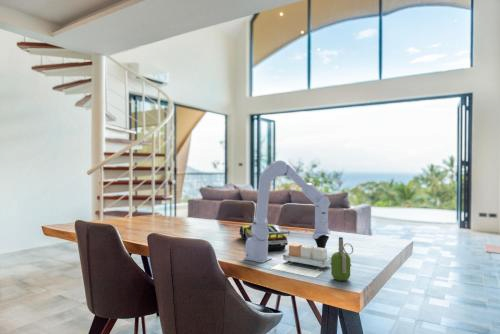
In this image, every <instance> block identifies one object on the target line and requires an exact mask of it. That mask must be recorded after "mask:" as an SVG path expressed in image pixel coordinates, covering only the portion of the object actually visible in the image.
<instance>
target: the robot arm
mask: <svg viewBox="0 0 500 334" xmlns="http://www.w3.org/2000/svg"><path fill="white" fill-rule="evenodd" d="M280 176H283V177H287V178H289V179H290V180H291V181H293V182H294V183H295V184H296V185H298V186H299V187H300V188H301V191H302V193H301V194H303V195H305V196H306V197H307V198H308V199H309V200H310V201H311V202H312V203H313V206H314V232H313V233H312V239H314V241H315V243H316V246H317V247H320V248H326V247H327V246H326V245H327V242H328V240H329V239H330V236H329V235H331V232H330V229H329V207H330V205H331V201H330V198H329V197H328V196H327V195H324V194H323V191H321V190H319V189H318V188H317V187H316V186H317V185H316V184H314V183H312V182H307V181H306V180H305V179H303V178H302V176H300V175H299V174H298V172H296V170H294V169H293V167H292V166H291V165H289V164H287V163H286V162H285V161H284V160H274V161H272V162H270V163H267V165H266V167H265V169H264V170H263V171H261V173H260V175H259V179H258V190H257V198H256V199H257V200H256V208H255V209H256V211H255V217H254V219H253V223H252V224H251V225H252V226H251V225H250V226H251V232H252V234H253V236H252V237H251V238H248V239H247V241H246V240H245V249H244V252H245V256H244V258H243V259H244V260H245V261H246V260H247V261H252V262H256V263H261V264H263V263H264V262H267V261H270V260H273V259H272V257H270V256H269V250H268V238H267V237H268V235H269V230H268V227H267V225H268V224H269V223H268V211H269V209H268V208H269V200H270V189H271V182H272V181H273V180H275V179H276V178H277V177H280ZM317 247H316V248H317Z"/></svg>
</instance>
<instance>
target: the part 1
mask: <svg viewBox="0 0 500 334" xmlns="http://www.w3.org/2000/svg"><path fill="white" fill-rule="evenodd" d="M314 248H315V246H313V245H305V244H304V245H302V247H301V258H307V259H313V249H314Z"/></svg>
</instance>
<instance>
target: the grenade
mask: <svg viewBox="0 0 500 334" xmlns="http://www.w3.org/2000/svg"><path fill="white" fill-rule="evenodd" d="M346 245H349V246H350V247H351V252H350V253H348V252H347V251H346V249H345V246H346ZM353 253H354V247H353V246H352V244H351V243H349V242H347V243H344V237H342V236H339V237H338V251H337V252H336V251H335V252H334V253H333V254H332V255H331V257H330V258H331V263H330V264H329V265H331V266H330V267H331V268H330V270H331V271H330V273H331V277H332V278H333V279H335V280H336V281H339V282H345V281H347V280H349V279H350V277H351V267H352V263H351V258H350V255H352V254H353Z"/></svg>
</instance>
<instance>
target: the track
mask: <svg viewBox="0 0 500 334" xmlns="http://www.w3.org/2000/svg"><path fill="white" fill-rule="evenodd" d="M293 263H294V262H293V261H291V263H288V262H287V264H286V263H278V264H276V265H274V266H272V267H270V270H275V271H281V272H286V273H290V274H295V275H298V276H299V275H301V276H304V277H308V278H309V277H310V278H314V279H315V278H317V277H319V276H320V275H322V274H323V273H324V271H323V270H321V269H323V268H324V267H321V269H318V268H316V269H311V268H306V267H302V266H295V265H291V264H293ZM320 270H321V271H320Z"/></svg>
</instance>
